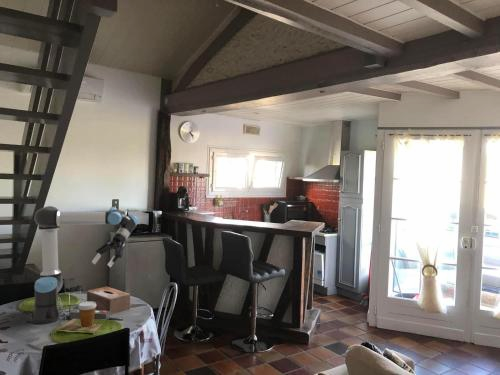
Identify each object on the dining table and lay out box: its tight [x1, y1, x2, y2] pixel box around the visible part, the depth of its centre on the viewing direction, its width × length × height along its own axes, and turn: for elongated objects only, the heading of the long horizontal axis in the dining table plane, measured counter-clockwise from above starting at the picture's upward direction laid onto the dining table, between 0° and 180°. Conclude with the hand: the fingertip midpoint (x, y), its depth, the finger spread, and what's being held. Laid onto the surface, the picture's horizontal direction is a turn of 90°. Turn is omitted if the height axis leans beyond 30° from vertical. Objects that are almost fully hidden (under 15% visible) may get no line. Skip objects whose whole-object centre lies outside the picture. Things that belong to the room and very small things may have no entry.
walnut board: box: [57, 319, 102, 332], centre depth 222 cm, size 20×16×2 cm
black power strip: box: [69, 308, 124, 321], centre depth 236 cm, size 31×6×4 cm, turn 85°
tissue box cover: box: [86, 286, 131, 316], centre depth 256 cm, size 26×14×10 cm, turn 53°
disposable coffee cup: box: [77, 300, 97, 327], centre depth 221 cm, size 10×10×12 cm
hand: (100, 264), depth 237 cm, fingers open, 13 cm apart
